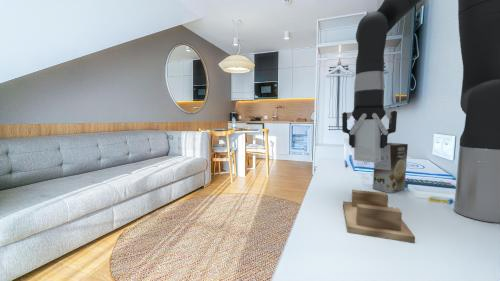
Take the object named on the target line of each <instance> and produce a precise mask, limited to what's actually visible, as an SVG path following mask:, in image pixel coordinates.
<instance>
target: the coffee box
mask: <svg viewBox="0 0 500 281" xmlns="http://www.w3.org/2000/svg"><path fill="white" fill-rule="evenodd" d="M408 146H409V144H408V143H398V142H396V143H395V142H387V146H385V148H381V161H380V162H377V163H373V177H372V178H373V179H372V189H373V190H378V191H379V192H380V191H381V192H383V193H387V194H393V193H397V192H400V190H401V191H403V190H402V189H404V190H405V189H406V188H405V187H406V175H407V174H406V173H407V162H408V161H407V159H408V148H409V147H408ZM404 185H405V187H404Z"/></svg>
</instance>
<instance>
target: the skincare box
mask: <svg viewBox="0 0 500 281" xmlns="http://www.w3.org/2000/svg"><path fill="white" fill-rule="evenodd" d="M353 122H354V123H353V125H355V124H356V122H357V121H356V120H355V119H354V120H353ZM379 124H380V123H379ZM354 135H355V147H354V148H353V149H354V151H353V160H354V161H358V162H366V163H373V164H374V163H377V162H380V161H381V135H382V133H381V130H380V128H379V126H378V119H366V120H363V122H362V123H361V125H360V126H359V127H358V129H357V130H356V131H355V133H354Z"/></svg>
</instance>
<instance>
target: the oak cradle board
mask: <svg viewBox="0 0 500 281" xmlns="http://www.w3.org/2000/svg"><path fill="white" fill-rule="evenodd" d="M388 203H389V195H388V192H382V191H381V192H380V191H370V190H362V189H361V190H360V189H359V190H358V189H352V190H351V201H344V200H343V201H342V208H343V213H344V214H343V215H344V218H345V225H346V226H345V227H346V230H347V231H346V232H347V233H349V234H350V233H352V234H357V235H363V236H370V237H377V238H383V239H390V240H395V241H400V242H401V241H403V242H406V243H407V242H408V243H414V244H415V242H416V236H415V234H414V233H413V232H412V230H411V229H410V228H409V227H408V225H407V224H406V222H405V221H404V220H403V219H402V218H403V217H402V215H403V211H401V210H400V208H394V207H393V206H388V205H389V204H388Z"/></svg>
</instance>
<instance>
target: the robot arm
mask: <svg viewBox="0 0 500 281" xmlns="http://www.w3.org/2000/svg"><path fill="white" fill-rule="evenodd" d="M421 1H422V0H383V2H382V3H381V5H380V6H379V8H378V9H376V11H375V10H374V11H371V12H368V13H366V14H365V15H364V16H363V17H362V18H361V19H360V20H359V23H358V25H357V29H356V32H355V41H356V42H357V56H356V61H355V79H354V84H353V85H354V88H353V110H352V111H351V112H346V111H345V112H343V113H342V114H341V117H342V118H341V123H342V125H341V128H342V129H341V130H342V133H346V134H347V135H348V145H349V146H350V148H352V149H354V147H355V135H354V133H355V131H356V130H357V129H358V127H359V126H360V125H361V123H362V122H363V120H366V119H378V126H379V128H380V130H381V148H385V146H387V143H388V137H389V135H390V134H393V133H396V132H397V122H398V121H397V120H398V119H397V118H398V112H397V110H391V111H386V110H385V105H384V103H385V88H386V85H385V75H384V74H385V73H384V71H385V47H386V43H387V36H388V33H389V32H390V31H391V30H392V29H393V28H394V26H395V25H397V23H398V22H399V21H400V20H401V19H402V18H403V17H404V16H406V15H407V14H408V13H409V12H410V11H411V10H413V9H414V8H415V7H416V6H417V5H418V4H419V3H420V2H421ZM457 1H458V2H457V4H458V5H457V6H458V7H457V12H458V13H457V17H458V18H457V19H458V21H457V22H458V33H459V36H458V37H459V44H460V54H461V61H462V84H461V94H460V102H459V103H460V108H461V110H462V112H463V113H464V114H465V119H464V128H463V131H462V134H461V135H460V138H459V150H458V159H457V161H458V162H457V171H456V181H455V182H456V183H455V192H454V193H455V194H454V202H453V210H454V212H456V213H457V214H459V215H461V216H464V217H467V218H471V219H474V220H477V221H482V222H489V223H494V224H495V223H496V224H497V223H500V0H457ZM385 116H386V118H387V119H388V128H386V127H385V125H384V123H383V122H382V119H383V118H384V117H385ZM351 117H353V119H354V120H356V121H357V122H356V124H355V125H354V124H353V125H352V126H351V128H350V129H348V120H350V119H351ZM379 123H380V124H379Z"/></svg>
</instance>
